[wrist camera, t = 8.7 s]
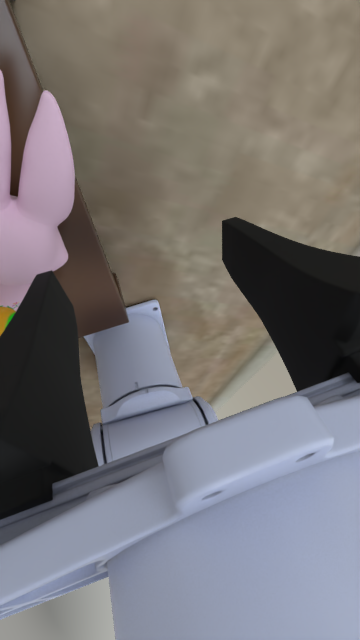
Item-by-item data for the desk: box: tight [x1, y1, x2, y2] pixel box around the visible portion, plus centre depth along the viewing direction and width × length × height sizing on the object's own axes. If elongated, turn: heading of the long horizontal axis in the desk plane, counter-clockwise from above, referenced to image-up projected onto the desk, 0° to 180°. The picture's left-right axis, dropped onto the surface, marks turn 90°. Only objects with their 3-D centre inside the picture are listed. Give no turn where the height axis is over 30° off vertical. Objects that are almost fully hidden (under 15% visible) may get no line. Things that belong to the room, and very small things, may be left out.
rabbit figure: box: [0, 70, 75, 336], centre depth 13 cm, size 6×6×15 cm
